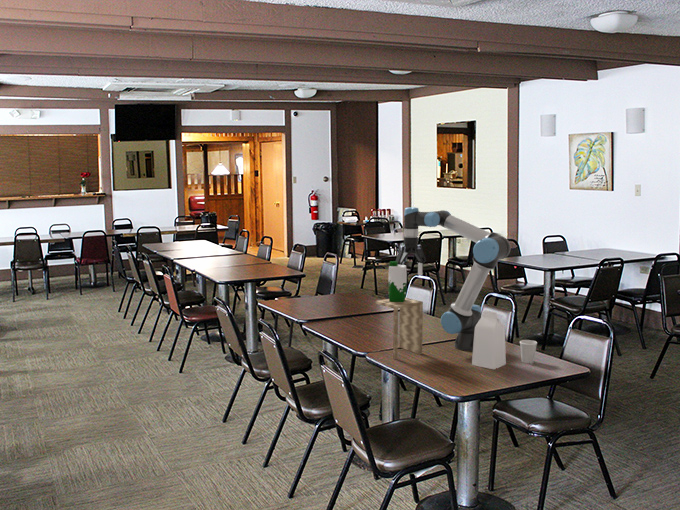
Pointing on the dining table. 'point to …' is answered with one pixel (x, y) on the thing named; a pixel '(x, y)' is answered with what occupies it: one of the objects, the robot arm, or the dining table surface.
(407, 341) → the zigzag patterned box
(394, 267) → the soya milk
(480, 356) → the milk
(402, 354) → the dining table surface
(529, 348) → the dixie cup
